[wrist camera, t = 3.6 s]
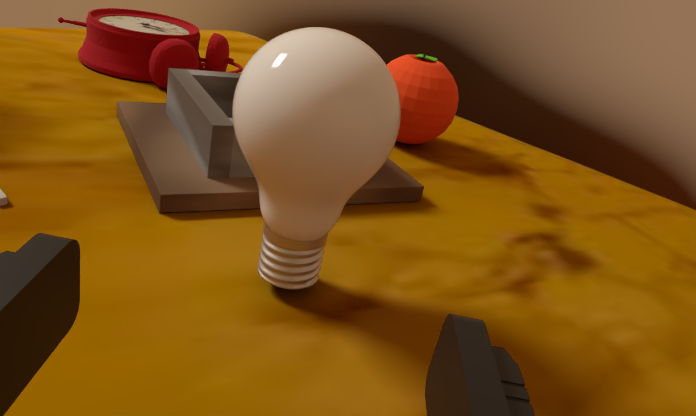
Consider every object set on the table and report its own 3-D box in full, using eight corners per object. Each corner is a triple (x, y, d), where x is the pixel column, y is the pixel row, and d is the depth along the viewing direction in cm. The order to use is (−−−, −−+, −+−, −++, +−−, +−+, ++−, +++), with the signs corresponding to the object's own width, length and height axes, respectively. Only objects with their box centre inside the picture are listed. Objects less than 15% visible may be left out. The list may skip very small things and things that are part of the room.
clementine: (381, 117, 52) (399, 37, 49) (455, 140, 50) (479, 58, 47) (348, 138, 45) (368, 46, 42) (433, 165, 43) (460, 71, 40)
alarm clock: (128, 6, 56) (263, 6, 51) (137, 72, 59) (267, 79, 53) (38, 10, 47) (190, 11, 42) (52, 88, 50) (199, 98, 44)
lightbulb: (383, 318, 25) (454, 61, 20) (239, 341, 22) (283, 43, 17) (320, 241, 30) (365, 20, 25) (195, 252, 26) (220, 0, 22)
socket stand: (326, 122, 47) (335, 74, 46) (420, 200, 37) (436, 141, 35) (116, 115, 40) (118, 56, 38) (159, 212, 29) (164, 137, 27)
